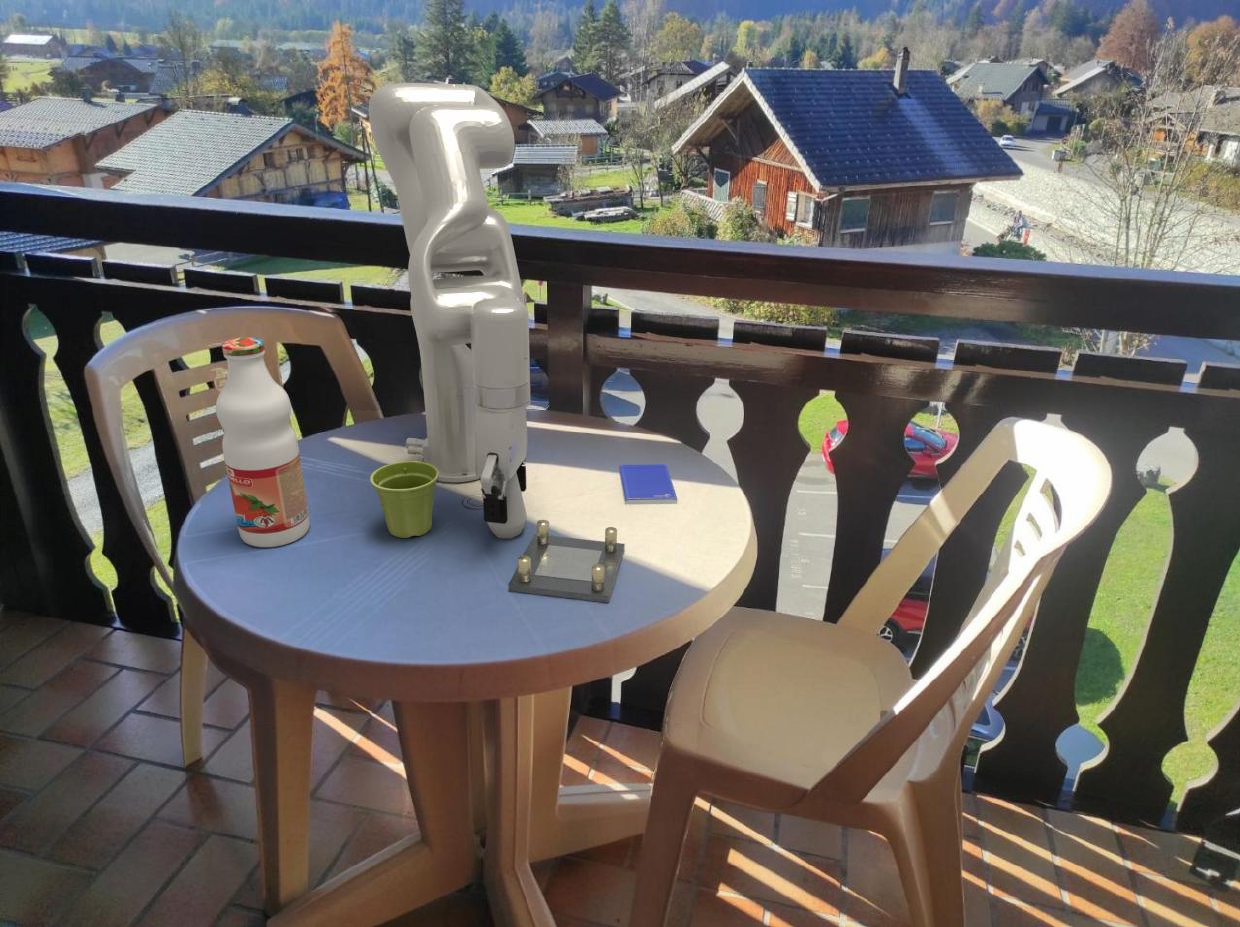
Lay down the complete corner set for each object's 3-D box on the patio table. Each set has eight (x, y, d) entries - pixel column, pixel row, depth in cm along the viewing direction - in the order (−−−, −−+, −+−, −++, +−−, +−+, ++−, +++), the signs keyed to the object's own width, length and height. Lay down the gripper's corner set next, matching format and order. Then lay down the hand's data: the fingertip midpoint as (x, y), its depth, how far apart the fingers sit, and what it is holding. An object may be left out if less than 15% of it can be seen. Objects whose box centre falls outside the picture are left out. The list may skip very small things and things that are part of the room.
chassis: (508, 590, 104) (507, 564, 102) (534, 540, 115) (534, 515, 114) (608, 602, 102) (609, 576, 100) (624, 549, 114) (625, 525, 112)
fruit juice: (321, 534, 115) (293, 344, 103) (254, 556, 109) (216, 358, 97) (295, 509, 121) (265, 328, 109) (230, 529, 116) (191, 340, 104)
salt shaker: (482, 525, 119) (478, 444, 113) (520, 518, 121) (517, 439, 115) (493, 545, 114) (489, 461, 108) (532, 537, 116) (530, 455, 110)
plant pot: (362, 537, 115) (355, 482, 111) (400, 508, 123) (395, 456, 119) (419, 550, 112) (414, 495, 108) (454, 519, 120) (451, 467, 116)
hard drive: (677, 497, 126) (666, 463, 137) (625, 498, 125) (619, 464, 137) (677, 506, 127) (666, 472, 138) (625, 507, 126) (618, 472, 137)
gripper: (494, 370, 116) (498, 476, 124) (452, 413, 101) (460, 532, 108) (545, 374, 115) (546, 481, 123) (511, 419, 100) (514, 538, 107)
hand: (506, 505), depth 115 cm, fingers open, 9 cm apart
